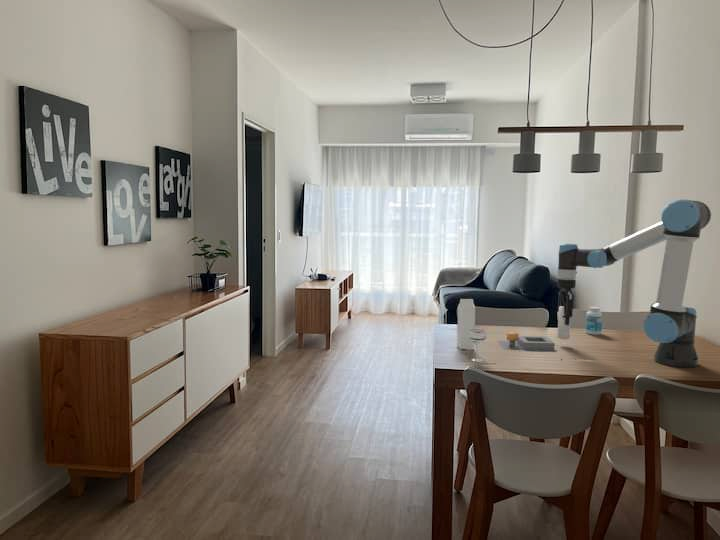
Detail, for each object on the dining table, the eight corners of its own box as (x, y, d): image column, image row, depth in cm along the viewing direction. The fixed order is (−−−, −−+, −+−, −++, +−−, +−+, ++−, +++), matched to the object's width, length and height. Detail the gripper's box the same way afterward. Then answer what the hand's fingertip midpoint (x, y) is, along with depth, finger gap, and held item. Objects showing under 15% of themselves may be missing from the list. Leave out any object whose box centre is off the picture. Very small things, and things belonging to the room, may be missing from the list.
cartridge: (571, 339, 228) (572, 308, 227) (559, 339, 228) (561, 307, 227) (567, 336, 233) (569, 306, 232) (556, 336, 233) (557, 305, 232)
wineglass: (482, 357, 213) (483, 329, 212) (487, 362, 206) (488, 332, 205) (466, 357, 212) (467, 329, 211) (470, 362, 206) (471, 332, 205)
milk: (456, 346, 232) (457, 298, 230) (470, 346, 232) (471, 297, 231) (460, 349, 226) (461, 300, 224) (474, 349, 226) (475, 299, 225)
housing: (556, 353, 221) (556, 344, 221) (504, 351, 223) (504, 342, 223) (545, 344, 237) (546, 335, 237) (497, 343, 239) (497, 334, 239)
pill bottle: (581, 332, 264) (583, 306, 262) (592, 331, 267) (593, 305, 266) (594, 335, 257) (595, 308, 256) (604, 334, 260) (606, 308, 259)
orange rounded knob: (519, 341, 228) (519, 334, 227) (508, 340, 228) (508, 334, 228) (516, 338, 233) (516, 332, 232) (505, 338, 233) (505, 331, 233)
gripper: (582, 281, 219) (579, 335, 221) (568, 276, 237) (566, 326, 239) (564, 280, 219) (561, 334, 222) (551, 276, 237) (549, 326, 240)
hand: (563, 330), depth 230 cm, fingers closed on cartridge, 5 cm apart
